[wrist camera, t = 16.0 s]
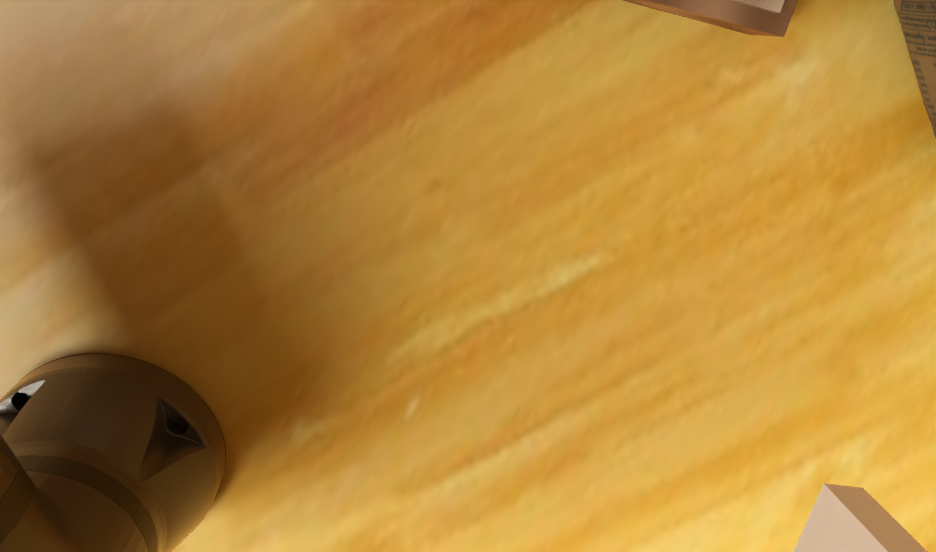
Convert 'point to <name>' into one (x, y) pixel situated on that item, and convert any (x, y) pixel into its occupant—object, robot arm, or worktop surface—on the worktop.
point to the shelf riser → (732, 13)
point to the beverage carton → (921, 46)
